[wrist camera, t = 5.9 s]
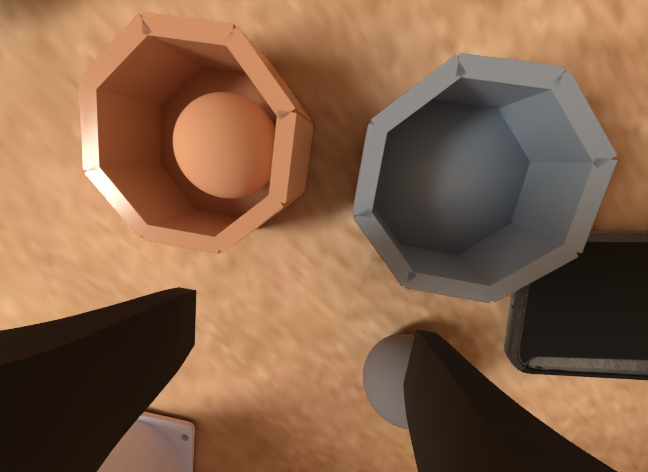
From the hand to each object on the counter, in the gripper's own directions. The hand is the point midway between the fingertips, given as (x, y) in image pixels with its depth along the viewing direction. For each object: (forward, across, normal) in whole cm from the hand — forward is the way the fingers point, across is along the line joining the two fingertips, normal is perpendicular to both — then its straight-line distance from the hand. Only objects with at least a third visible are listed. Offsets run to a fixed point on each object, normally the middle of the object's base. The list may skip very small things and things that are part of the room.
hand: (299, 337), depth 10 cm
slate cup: (+7, -5, -5) cm, 11 cm away
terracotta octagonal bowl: (+7, +6, -5) cm, 11 cm away
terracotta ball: (+5, +5, -5) cm, 9 cm away
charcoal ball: (+5, -5, +5) cm, 9 cm away
